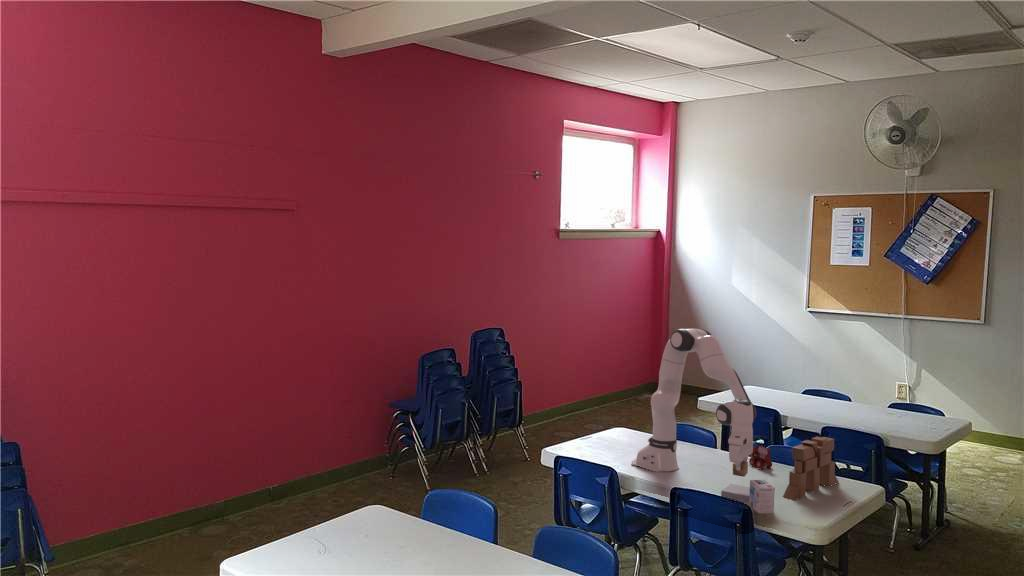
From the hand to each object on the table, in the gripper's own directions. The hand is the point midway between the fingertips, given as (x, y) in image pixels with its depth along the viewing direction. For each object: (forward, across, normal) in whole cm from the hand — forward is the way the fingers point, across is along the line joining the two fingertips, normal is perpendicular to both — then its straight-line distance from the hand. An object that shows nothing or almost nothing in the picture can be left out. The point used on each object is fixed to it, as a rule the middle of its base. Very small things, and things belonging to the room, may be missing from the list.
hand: (741, 468), depth 340 cm
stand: (+12, 0, 0) cm, 12 cm away
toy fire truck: (+12, -49, -7) cm, 51 cm away
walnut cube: (+3, 0, 0) cm, 3 cm away
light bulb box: (+12, +11, +13) cm, 21 cm away
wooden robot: (+13, -28, +23) cm, 38 cm away
